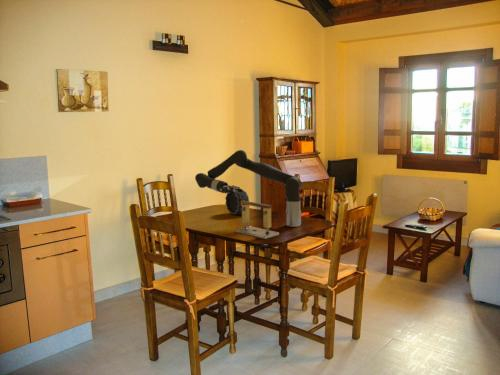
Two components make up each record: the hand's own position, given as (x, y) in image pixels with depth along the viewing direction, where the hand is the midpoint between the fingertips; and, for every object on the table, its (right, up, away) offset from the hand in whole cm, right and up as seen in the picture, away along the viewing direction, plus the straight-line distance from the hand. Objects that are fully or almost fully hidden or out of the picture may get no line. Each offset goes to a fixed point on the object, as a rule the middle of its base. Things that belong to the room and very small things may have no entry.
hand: (238, 191), depth 302 cm
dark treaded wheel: (-2, -18, +55) cm, 58 cm away
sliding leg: (+5, -24, +4) cm, 25 cm away
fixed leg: (+19, -26, -9) cm, 33 cm away
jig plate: (+12, -27, -3) cm, 29 cm away
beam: (+11, -9, -5) cm, 15 cm away
